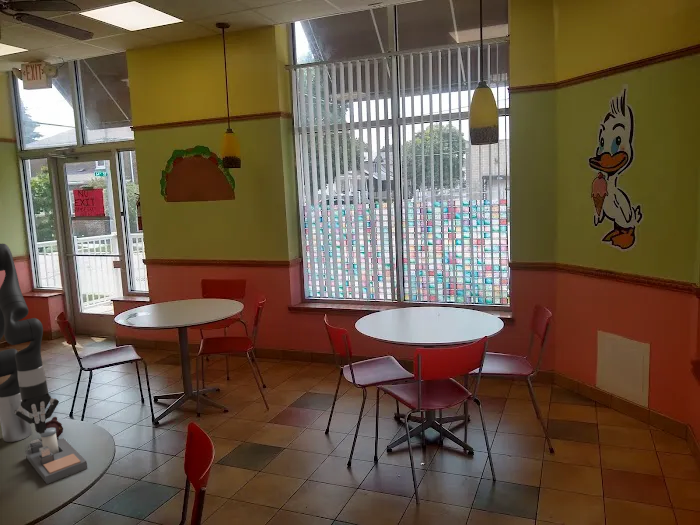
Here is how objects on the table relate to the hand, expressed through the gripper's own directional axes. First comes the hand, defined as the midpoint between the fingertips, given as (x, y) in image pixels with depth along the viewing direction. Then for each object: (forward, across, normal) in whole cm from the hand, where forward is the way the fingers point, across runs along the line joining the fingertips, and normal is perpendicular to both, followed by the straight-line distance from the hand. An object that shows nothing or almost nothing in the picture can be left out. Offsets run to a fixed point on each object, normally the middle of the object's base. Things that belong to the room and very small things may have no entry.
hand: (41, 432), depth 178 cm
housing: (+12, -3, -2) cm, 13 cm away
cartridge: (+12, -3, -6) cm, 14 cm away
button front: (+8, 0, 0) cm, 8 cm away
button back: (+10, 0, -12) cm, 16 cm away
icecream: (+12, -8, -24) cm, 28 cm away
